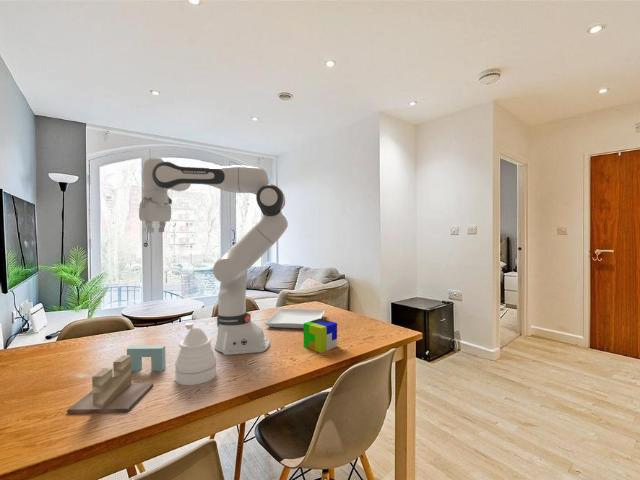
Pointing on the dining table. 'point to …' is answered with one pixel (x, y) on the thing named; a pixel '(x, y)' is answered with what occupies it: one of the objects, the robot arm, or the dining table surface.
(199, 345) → the honey pot
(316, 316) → the square plate
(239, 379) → the dining table surface
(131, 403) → the stand
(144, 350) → the green arch block
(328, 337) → the puzzle toy
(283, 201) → the robot arm
